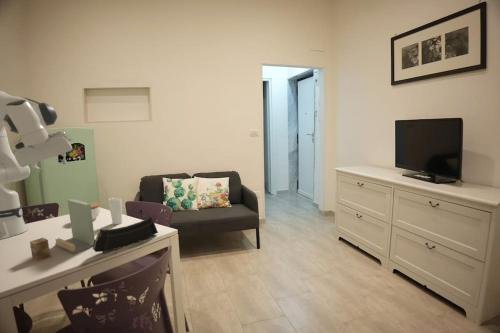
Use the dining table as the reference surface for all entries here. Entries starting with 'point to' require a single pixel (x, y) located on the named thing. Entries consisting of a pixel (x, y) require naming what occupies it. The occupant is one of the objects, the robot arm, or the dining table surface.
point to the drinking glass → (116, 210)
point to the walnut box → (40, 249)
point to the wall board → (78, 228)
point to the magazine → (124, 235)
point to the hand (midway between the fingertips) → (53, 167)
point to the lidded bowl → (95, 210)
